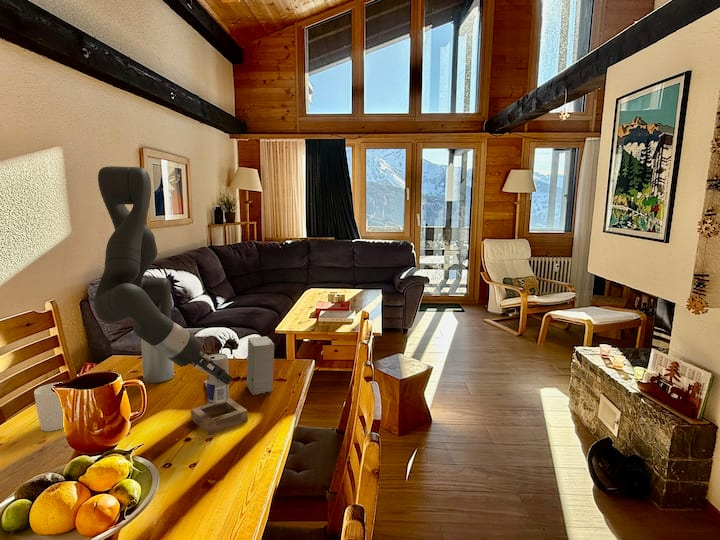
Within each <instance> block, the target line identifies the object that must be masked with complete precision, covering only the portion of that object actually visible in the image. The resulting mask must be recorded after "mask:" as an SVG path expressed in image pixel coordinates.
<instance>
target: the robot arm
mask: <svg viewBox="0 0 720 540" xmlns="http://www.w3.org/2000/svg"><path fill="white" fill-rule="evenodd" d="M97 185H98V189H99V192H100V195H101V198H102V200H103V203H104V206H105V207H106V210H107V212H108V215H109V217H110V220H111V222H112V225H113V228H114V231H113V233H112V234H111V236H110V237H109V239H108V241H107V244H106V248H105V256H104V257H105V258H104V270H103V272H102V275H101V278H100V280H99V283H98V286H97V289H96V291H95V294H94V300H93V308H94V312H95V314H96V316H97V318H99V319H100V320H101V321H103V322H104V323H110V324H112V323H117V322H120V321H122V320H124V319H127V318H129V317H130V318H132V319H133V320H134V321H135V322H134V324H133V325H132V326H133V327H132V328H133V329H132V330H133V332H134V334H135V335H136V336H137V337H139V339H140V343H141V347H140V348H141V361H142V363H141V365H142V379H143V381H144V382H145V383H151V384H159V383H163V382H167V381H169V380H171V379H173V378H174V377H175V366H174V365H177V366H179V367H186V366H188V365H191V366H192V367H194V368H195V369H197V370H200V371H201V372H204V373H205V374H206V375H207V374H208V375H210V374H211V375H213V376H214V377H215V378H216V379H219V380H221V381H222V382H223V383H225V384H226V385H228V384H229V385H230V383H231V382H232V380H233V377H232V376H231V375H230V374H229V373H228V374H227V373H225V372H226V371H225V370H224V369H222V368H221V367H219V366H218V365H217V363H216V362H215V361H213V360H212V359H210V358H209V355H208V354H206V353H205V352H204V351H203V352H202V351H201V350H202V346H203V345H202V341H201V340H200V339H198V338H197V337H196V336H194V335H193V334H192V333H191V332H190V331H188V330H187V329H186V328H184V327H183V326H181V325H180V324H178V323H176V322H174V321H173V320H172V286H171V285H172V284H171V281H170V280H169V278H167V277H147V278H146V277H144V276H145V274H146V273H147V271H148V270H149V269H150V267H151V266H152V265H153V263H154V262H155V261H156V258H157V256H158V247H157V242H156V238H155V235H154V233H153V231H152V230H151V229H150V227H148V226H147V224H146V222H147V220H148V219H147V217H148V212H149V209H150V202H151V196H152V181H151V177H150V174H149V171H147V169H146V168H144V167H139V166H117V165H116V166H104V167H101V168H100V169H99V171H98V174H97ZM126 205H132V208H131V210H129V209H128V207H127V206H126ZM158 307H159V308H158Z"/></svg>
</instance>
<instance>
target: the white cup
mask: <svg viewBox="0 0 720 540" xmlns="http://www.w3.org/2000/svg"><path fill="white" fill-rule="evenodd" d="M63 382H64V381H59V382H52V383H48V384H45V385H42V386H39V387H38V388H36V389H35V390H34V391H33V394H34V400H35V407H36V413H37V418H38V420H39V427H40V430H41V431H43V430H44V431H43V432H54V431H53V430H56V431H60V430H62V429H64V428H63V411H62V407H61V404H60V401H59V398H58V396H57V394H56V393H55V392H53V391H52V390H51V386H53V385H55V384H59V383H63ZM59 429H60V430H59Z"/></svg>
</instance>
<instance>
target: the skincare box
mask: <svg viewBox="0 0 720 540" xmlns="http://www.w3.org/2000/svg"><path fill="white" fill-rule="evenodd" d="M274 359H275V343H274V342H273V341H272V339H270V338H269V336H267V335H266V336H253V337H252V336H251V337H248V338H247V360H246V363H247V365H246V366H247V367H246V368H247V369H246V387H247V388H248V390H249V391H250V393H251V395H252V396H255V394H256V395H261V394H260V393H262V394H266V393H265V392H269V393H271V392H270V391H272V392H273V387H274V386H273V385H274V366H275V365H274V363H275V360H274Z"/></svg>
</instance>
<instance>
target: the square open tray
mask: <svg viewBox="0 0 720 540" xmlns="http://www.w3.org/2000/svg"><path fill="white" fill-rule="evenodd" d="M225 412H226V414H224V415H220V416H217V415H219V414H223V413H225ZM248 413H249V412H248V409H246V408H245V407H243V406H242V405H241V404H239V403H238V402H236V401H234V400H233V399H232V398H231V397H229V400H228V401H227V402H225V403H223V404H218V405H214V404H210V403H209V402H208V403H205V404H202V405H200V406H196V407H194V408H191V409H190V415H191V421H192V422H193V423H195V425H197V426H198V427H199V428H200V429H202V430H203V431H204V432H205V433H206V434H207V435H208V436H212V435H214V434H217V433H219V432H222V431H224V430H227V429H231V428H234V427H235V426H238V425H240V424H243V423H247V422H248V421H249V415H248ZM213 416H217V417H215V418H212V417H213Z"/></svg>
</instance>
